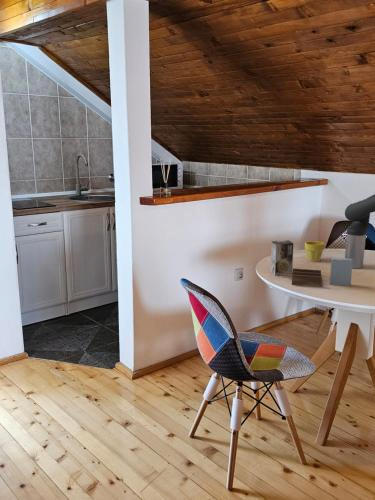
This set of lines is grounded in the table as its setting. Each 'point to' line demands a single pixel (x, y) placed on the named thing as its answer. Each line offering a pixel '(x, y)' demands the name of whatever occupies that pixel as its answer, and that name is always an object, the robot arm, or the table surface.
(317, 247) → the plant pot
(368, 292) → the table surface
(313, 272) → the rack
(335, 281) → the light grey upright block
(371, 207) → the robot arm
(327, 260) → the table surface
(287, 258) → the coffee box
